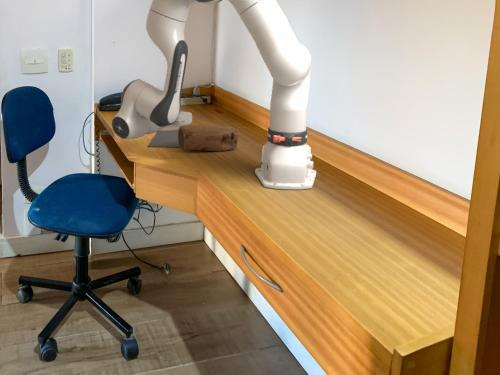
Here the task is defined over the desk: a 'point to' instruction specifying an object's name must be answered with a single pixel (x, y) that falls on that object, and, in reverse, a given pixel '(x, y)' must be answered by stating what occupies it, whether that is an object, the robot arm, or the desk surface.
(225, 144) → the block
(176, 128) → the stop strip
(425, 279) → the desk surface
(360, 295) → the desk surface
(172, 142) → the mat
